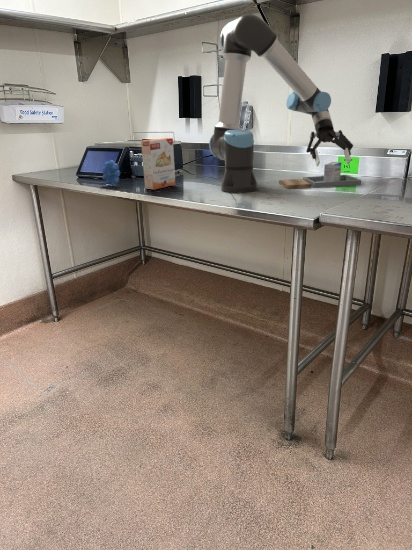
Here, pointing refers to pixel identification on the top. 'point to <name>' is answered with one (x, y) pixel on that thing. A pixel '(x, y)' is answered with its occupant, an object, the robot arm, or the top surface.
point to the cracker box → (158, 163)
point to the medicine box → (332, 171)
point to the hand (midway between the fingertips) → (333, 163)
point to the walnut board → (294, 183)
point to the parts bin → (349, 182)
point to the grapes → (111, 172)
